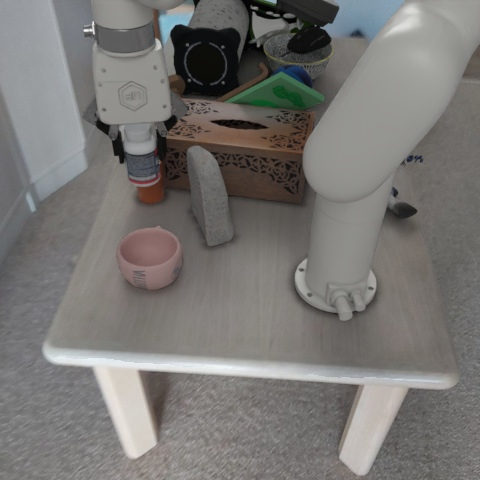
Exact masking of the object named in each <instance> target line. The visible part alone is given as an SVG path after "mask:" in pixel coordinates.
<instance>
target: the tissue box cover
mask: <svg viewBox="0 0 480 480" xmlns="http://www.w3.org/2000/svg"><path fill="white" fill-rule="evenodd" d="M180 99H181V100H182V101H183V102H184V103H185V104H186V105H187V109H188V112H187V114H185V115H184V116H183V117H182V118H181V119H180V120H178V121H177V123H176V124H175V126H174V127H173V128H172V129H171V130H170V131H169V132H168V135H167V136H166V141H167V152H168V153H163V158H164V161H163V168H164V179H163V185H164V188H169V189H170V188H172V189H180V190H187V191H191V187H190V180H189V175H188V167H187V150H188V149H189V148H190V147H192V146H200V147H202V148H204V149H205V150H207V151H208V152H210V153H211V154H212V155H213V157H214V158H215V159H216V160H217V163H218V165H219V169H220V171H221V174H222V177H223V180H224V184H225V187H226V191H227V195H228V196H234V197H243V198H250V199H260V200H268V201H276V202H282V203H283V202H285V203H290V204H291V203H292V204H298V205H302V203H303V199H304V193H305V187H306V184H307V183H306V182H307V179H306V177H305V174H304V170H303V161H302V160H303V151H304V147H305V144H306V142H307V139H308V138H309V136H310V134H311V133H312V132H313V130H314V129H315V121H316V111H310V110H309V111H308V110H302V111H300V110H290V109H281V108H272V107H261V106H253V105H243V104H234V103H225V102H215V100H204V99H196V98H188V97H187V98H185V97H182V98H180ZM174 109H175V108H174V107H173V108H172V109H171V112H172V111H173V110H174Z"/></svg>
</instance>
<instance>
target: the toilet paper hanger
mask: <svg viewBox="0 0 480 480" xmlns="http://www.w3.org/2000/svg"><path fill="white" fill-rule="evenodd" d="M257 69H258V70H259V71H260V73H261V74H260V75H258V76H256V77H254V78H253V79H251V80H249V81H247V82H245V83H243V84H242V85H240V87H238V88H236V89H234V90H233V91H231V92H229V93H227V94H225V95H224V96H220V97H218V98H216V99H214V101H215V102H225V101H227V100H229V99H230V98H232V97H234V96H236V95H238V94H240V93H242V92H244V91H246V90H247V89H249V88H251V87H253V86H255V85H257V84H259V83H261V82H263V81H264V80H266V79H267V77H268V74H269V69H268V67H267V66H266V64H265V63H264V62H263V61H262V62H260V63H258V65H257ZM168 79H169V87H170V89H171V90H172V91H173V92H174V93H175V94H176V95H177V96H178V97H179V98H183V95H182V93H183V92H184V89H185V86H186V85H185V82H184V80H183V79H182V78H181V76H179V75H176V73H173V74H171V75H168Z"/></svg>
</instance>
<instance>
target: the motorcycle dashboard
mask: <svg viewBox="0 0 480 480" xmlns="http://www.w3.org/2000/svg"><path fill="white" fill-rule="evenodd" d="M275 1H276V2H275V4H276V5H275V7H276V10H277V11H276V13H275V14H277V15H278V13H279V12H280V10H283V9H284V10H285V11H287V12H289V13H291V14H293V15H294V16H296V17H298V18H300V19H302V20H305V21H307V22H309V23H312V24H314V25H315V26H316V27H319V28H325V26H327V25H328V24H329V25H333V24H334V21H335V19H336V18H337V16H338V13H339V11H340V5H339V4H338V2H336V1H335V0H275Z"/></svg>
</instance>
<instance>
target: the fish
mask: <svg viewBox="0 0 480 480" xmlns="http://www.w3.org/2000/svg"><path fill="white" fill-rule="evenodd" d="M398 195H399V190H398V189H397V188H396V187H395V186H392V190H391V193H390V197H389V201H388V205H387V208H388V209H389V210H390V211H391V212H392V213H393V214H394V215H395V216H396V217H397V218H399V219H407V218H411V217H413V216H414V215H416V214H417V213H418V209H417V208H416V207H415V206H412V205H411V204H409V203H407V202H405V201H402V200H400V199H398V198H396V197H397V196H398Z"/></svg>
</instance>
